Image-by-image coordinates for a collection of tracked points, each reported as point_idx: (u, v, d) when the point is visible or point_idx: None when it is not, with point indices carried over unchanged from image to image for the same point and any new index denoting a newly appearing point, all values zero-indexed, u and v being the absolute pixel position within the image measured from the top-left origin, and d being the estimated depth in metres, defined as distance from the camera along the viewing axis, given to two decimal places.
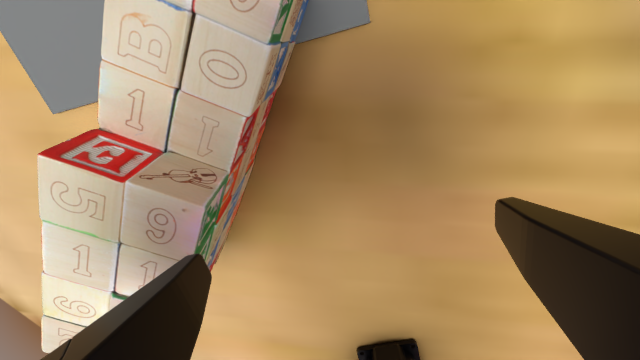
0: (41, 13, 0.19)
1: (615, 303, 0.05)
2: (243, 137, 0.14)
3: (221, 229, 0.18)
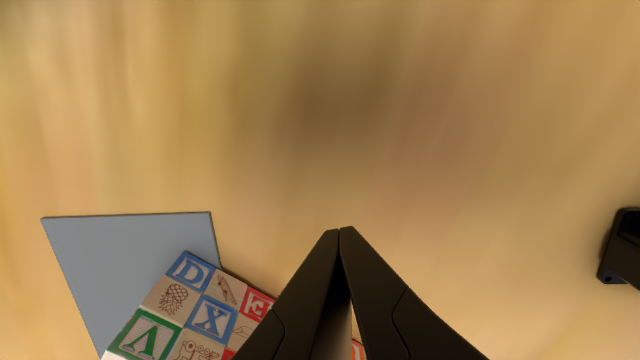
0: None
1: None
2: None
3: None
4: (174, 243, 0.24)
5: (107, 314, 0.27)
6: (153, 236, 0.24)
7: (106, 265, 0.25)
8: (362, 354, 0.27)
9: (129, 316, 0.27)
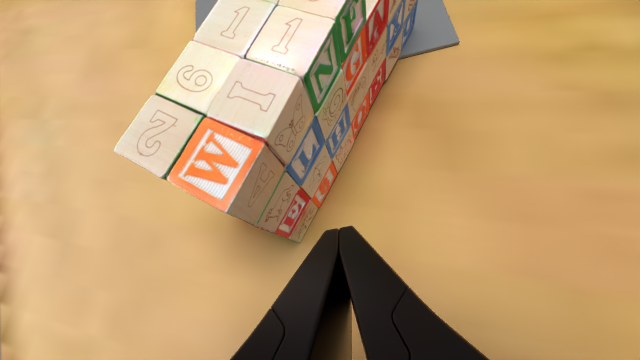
0: None
1: None
2: (378, 12, 0.17)
3: (331, 121, 0.17)
4: (417, 20, 0.27)
5: None
6: (420, 5, 0.27)
7: None
8: (317, 204, 0.22)
9: None
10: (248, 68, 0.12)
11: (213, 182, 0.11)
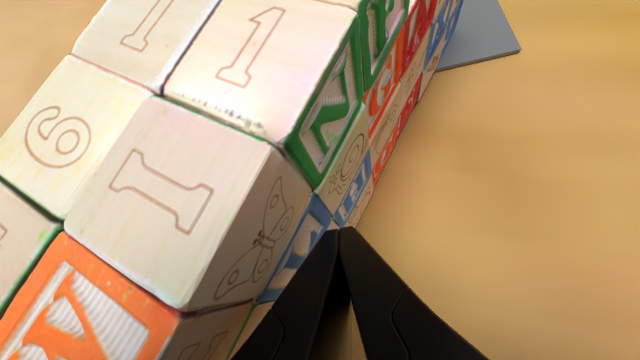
0: None
1: (361, 337, 0.06)
2: (425, 1, 0.10)
3: (343, 187, 0.10)
4: (459, 19, 0.20)
5: None
6: None
7: None
8: None
9: None
10: (161, 119, 0.06)
11: None
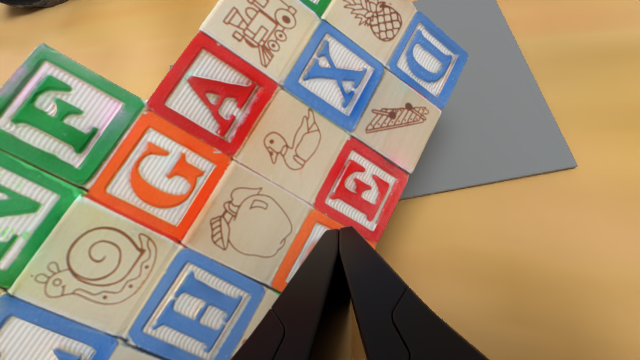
0: None
1: None
2: (201, 79, 0.10)
3: (113, 295, 0.08)
4: (501, 121, 0.17)
5: None
6: (504, 96, 0.17)
7: None
8: None
9: None
10: None
11: None
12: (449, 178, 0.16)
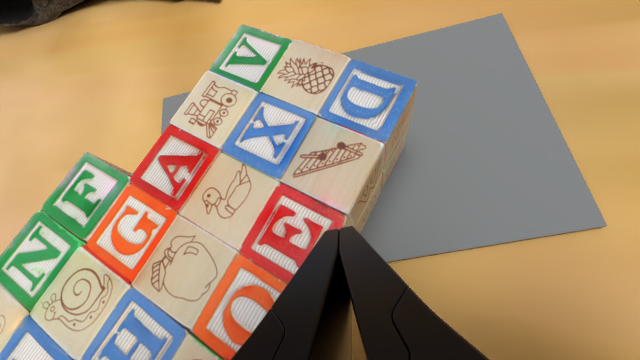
0: None
1: None
2: (166, 156, 0.13)
3: (79, 323, 0.11)
4: (521, 172, 0.16)
5: None
6: (524, 143, 0.16)
7: (448, 83, 0.18)
8: None
9: None
10: None
11: None
12: (466, 236, 0.15)
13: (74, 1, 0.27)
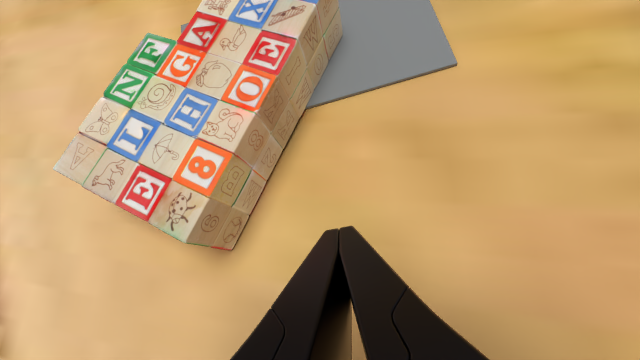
0: None
1: None
2: (196, 27, 0.22)
3: (160, 106, 0.21)
4: (412, 40, 0.26)
5: None
6: (415, 24, 0.26)
7: None
8: (196, 189, 0.18)
9: None
10: None
11: None
12: (378, 79, 0.25)
13: None
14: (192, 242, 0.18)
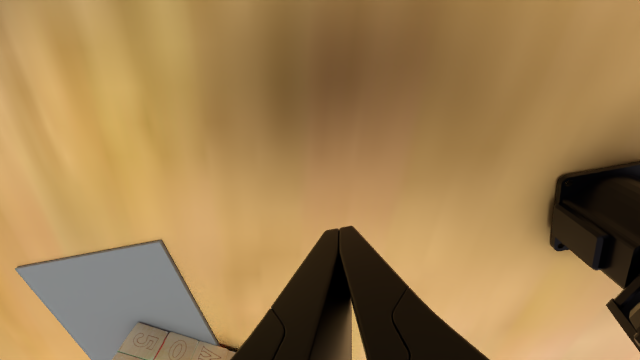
0: None
1: None
2: None
3: None
4: (137, 272, 0.26)
5: (100, 340, 0.30)
6: (117, 269, 0.26)
7: (85, 299, 0.27)
8: None
9: (119, 339, 0.30)
10: None
11: None
12: (184, 298, 0.27)
13: None
14: None
